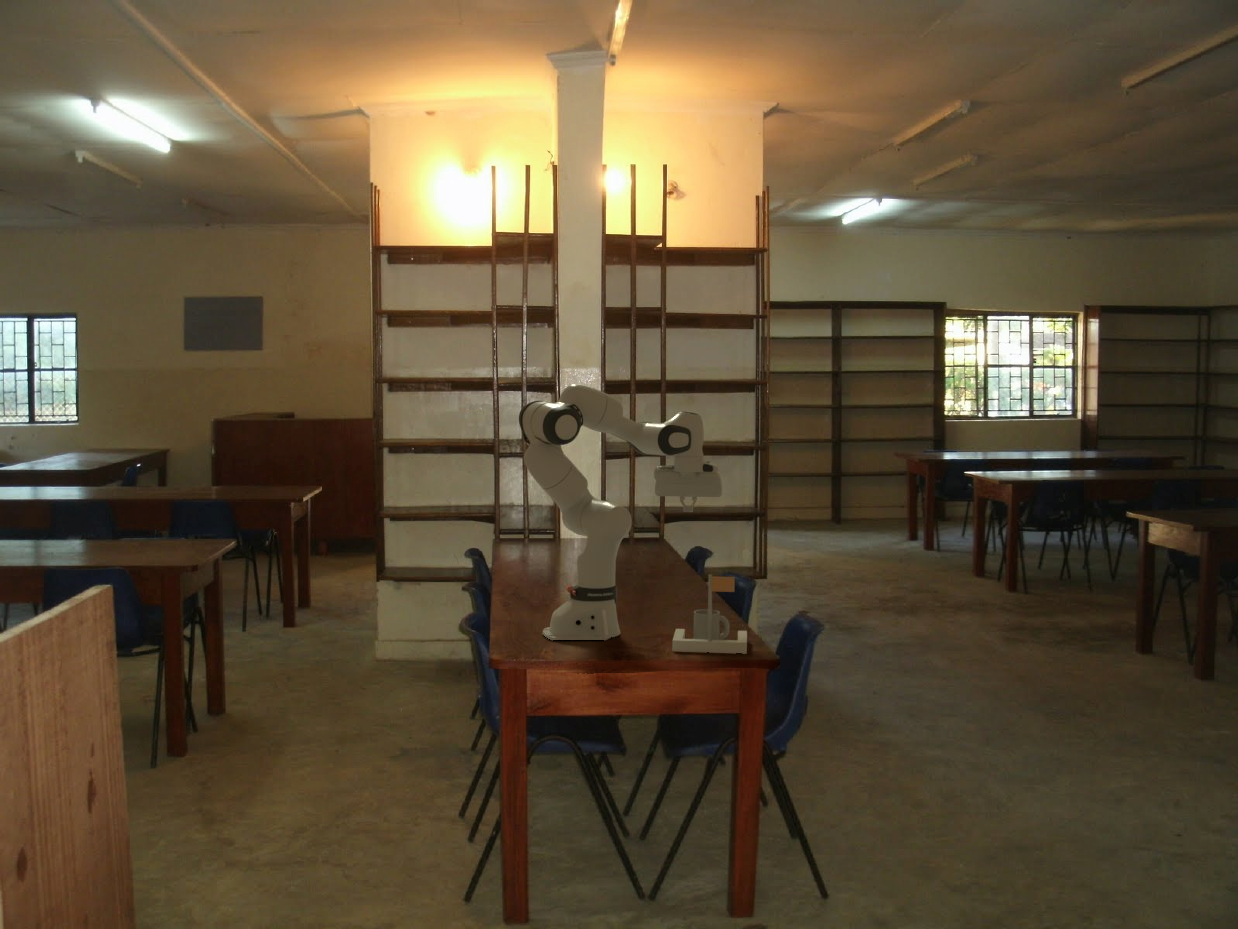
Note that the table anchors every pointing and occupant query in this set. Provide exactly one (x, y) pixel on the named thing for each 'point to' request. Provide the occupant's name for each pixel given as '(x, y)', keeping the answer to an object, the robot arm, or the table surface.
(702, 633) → the cup
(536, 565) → the table surface
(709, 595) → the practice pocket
